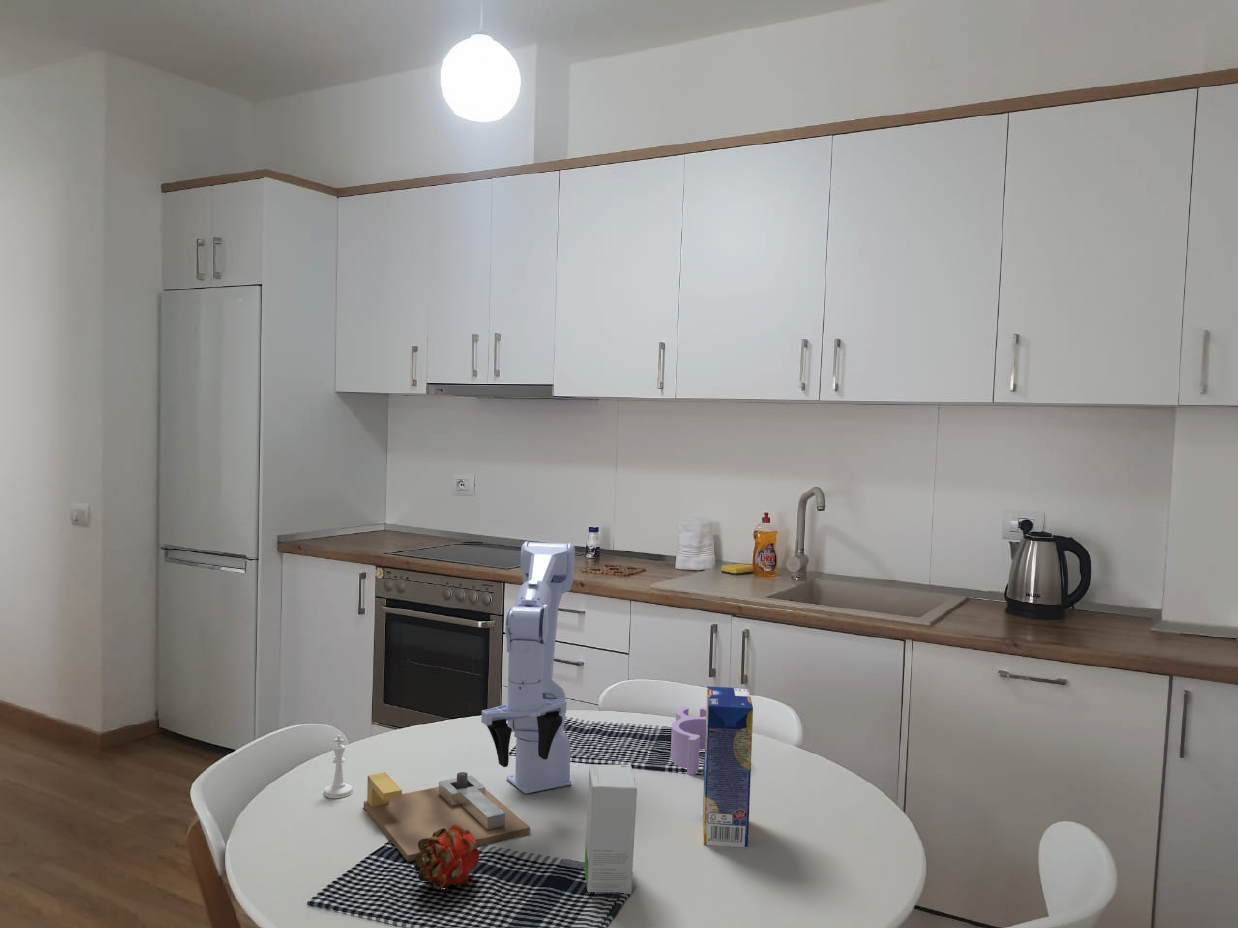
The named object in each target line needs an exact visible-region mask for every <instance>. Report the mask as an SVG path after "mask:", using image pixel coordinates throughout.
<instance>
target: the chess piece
mask: <svg viewBox="0 0 1238 928" xmlns="http://www.w3.org/2000/svg"><path fill="white" fill-rule="evenodd" d="M333 742H335V743H337V744H336V745H334V746H333V747H332V750H333V752H334V756H335V758H334V759H332V763H333V764H335V771H334V777H333V782H332V783H331V784H330V785H327V786H326V787H324V788H323V796H324V797H326V798H329V799H341V798H346V797H350V795H352V794H353V793H354V788H353V786H352V785H351V784H349V783H346V781H344V774H343V773H344V772H343V763H345V762H346V759H345V758H344V757H343V756H344V752H345V750H346V745H344V743H345V739H343V738H342V735H340V734H339V735H337V738H334V740H333ZM342 743H343V744H342Z"/></svg>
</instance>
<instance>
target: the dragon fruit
mask: <svg viewBox="0 0 1238 928" xmlns="http://www.w3.org/2000/svg"><path fill="white" fill-rule="evenodd" d="M475 844H476V841H475V838H474V836H473V834H472V833H471V832H470V831H469V830H468V829H467V830H464V831H463V828H462V827H460V826H459V825H453V826H451V827H450V828H449V829H448V830H446V829H445V828H442V829H439V830H438V831H436V832H434V833H433V836H432V837H430V838H426V839H421V840H420V841H419V842H418V847H419V850H420V852H419V853H418V854H417V856H416V857H415V861H414V863H413V868H414V871H416V872H418V874H417V877H418V879H419V881H420V882H426V883H430V882H431V884H432V888H433V889H436V890H437V889H438V890H439V889H441V888H442V887H443V888H445V890H446V889H448V888H449V886H450V885H455V886H457V887H459V886H462V885H463V887H465V886H467V885H468V884H469V879H470V878H469V874H470V873H471V872H472V870H473V869H475V868H476V866H477V865H478V863H479V861H480V850H479V848H478V846H476V845H475Z"/></svg>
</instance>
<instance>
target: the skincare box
mask: <svg viewBox="0 0 1238 928" xmlns="http://www.w3.org/2000/svg"><path fill="white" fill-rule="evenodd" d="M588 771H589V772H588V788H587V789H588V792H587V793H588V794H587V809H586V810H587V811H586V815H587V816H586V834H585V847H584V848H585V849H584V850H585V851H584V873H585V874H584V876H585V875H586V876H585V880H586V882H587V884H586V890H587V891H588V892H595V893H596V892H620V893H624V894H623V895H631V894H632V887H633V882H632V881H633V868H634V867H633V866H634V865H633V864H634V849H635V829H636V813H637V798H638V797H637V796H638V787H637V783H636V774H635V773H634V771H633V767H632V765H631V764H589V769H588ZM586 882H585V883H586ZM587 891H586V892H587Z"/></svg>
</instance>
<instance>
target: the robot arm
mask: <svg viewBox="0 0 1238 928" xmlns="http://www.w3.org/2000/svg"><path fill="white" fill-rule="evenodd" d="M575 563H576V549H575V545H574V544H573V543H572V542H568V543H563V542H561V543H560V542H559V543H558V542H557V543H556V542H536V541H535V542H534V541H533V542H530V541H528V540H527V541H524V543H523V544H522V545H521V550H520V571H521V578H522V584H521V585H520V588H519V590H518V593H517V596H516V600H515V603H514V606H512V608H508V610H507V611H506V617H505V638H506V652H507V653H508V665H507V666H508V667H507V668H508V670H507V673H508V674H507V676H508V677H507V703H504V704H501V705H499V706H496V707H492V708H488V709H483V710H481V721H480V722H481V724H484V725H485V726H486V727H487V729H488V731H489V732H490V735H491V738H492V740H493V743H494V746H495V750H496V754H497V760H498V765H499V766H502V767H503V768H507V767H509V759H510V757H509V756H510V755H509V754H510V751H509V750H510V742H511V741H510V740H511V736H512V733H514V735H513V737H514V738H515V739H516V740H515V743H516V744H515V773H514V774H511V775H507V776H506V780H507V781H508V782H510V783H511V785H514V787H515V788H518V790H520V792H522V793H523V794H531V793H536V792H541V791H545V790H546V791H547V790H551V789H554V788H560V787H565V786H569V785H572V780H570V778H571V777H570V776H571V775H570V772H571V743H570V740H569V737H568V735H567V733H566V732H565V731H564V729H565V721H566V720H565V719H566V713H567V701H566V693H565V691H564V689H563V688H562V687H561V686H560V685H559V684H558V683H556V682H555V680H553V670H554V660H555V650H556V637H557V629H558V628H557V625H558V616H559V607H560V603H561V599H562V596H563V594H565V593H567V592H570V590H572V585H573V583H574V572H575V566H576V565H575Z"/></svg>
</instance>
